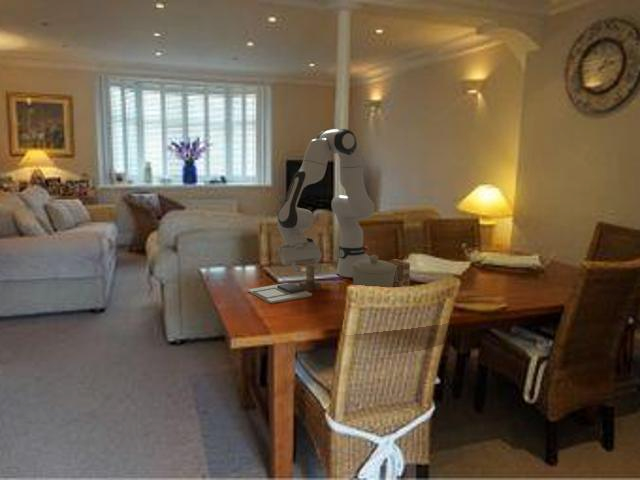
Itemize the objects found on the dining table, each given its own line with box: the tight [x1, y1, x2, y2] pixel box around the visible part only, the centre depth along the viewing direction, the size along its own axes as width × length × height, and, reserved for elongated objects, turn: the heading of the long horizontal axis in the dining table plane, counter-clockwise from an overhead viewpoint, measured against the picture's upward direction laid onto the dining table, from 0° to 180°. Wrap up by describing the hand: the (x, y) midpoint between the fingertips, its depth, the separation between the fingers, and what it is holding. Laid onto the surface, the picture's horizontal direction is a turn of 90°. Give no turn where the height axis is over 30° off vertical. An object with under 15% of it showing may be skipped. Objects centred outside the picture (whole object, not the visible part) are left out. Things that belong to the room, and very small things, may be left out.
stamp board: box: [247, 282, 313, 304], centre depth 226 cm, size 20×20×2 cm
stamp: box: [298, 265, 322, 292], centre depth 234 cm, size 7×7×10 cm
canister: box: [351, 254, 397, 287], centre depth 209 cm, size 18×18×21 cm
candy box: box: [389, 258, 411, 287], centre depth 224 cm, size 9×4×15 cm, turn 33°
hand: (307, 269), depth 235 cm, fingers open, 8 cm apart
